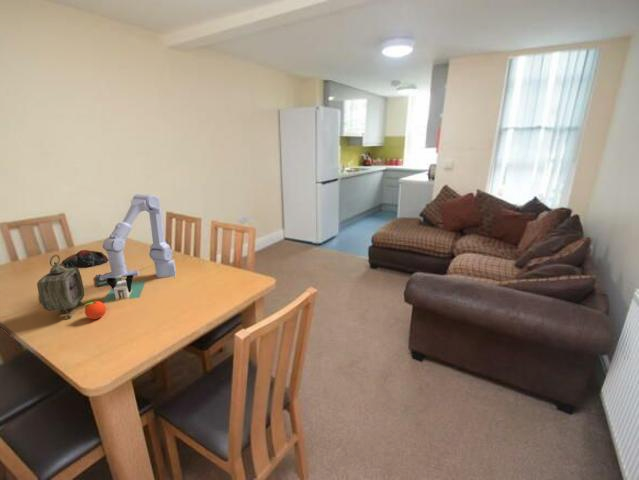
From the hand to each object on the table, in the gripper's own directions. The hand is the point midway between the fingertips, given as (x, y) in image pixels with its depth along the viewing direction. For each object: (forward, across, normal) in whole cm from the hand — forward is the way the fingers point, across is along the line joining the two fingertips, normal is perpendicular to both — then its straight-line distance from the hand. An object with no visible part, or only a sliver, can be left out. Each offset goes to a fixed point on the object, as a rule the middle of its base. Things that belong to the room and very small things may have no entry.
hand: (123, 292), depth 141 cm
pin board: (+2, 0, +4) cm, 5 cm away
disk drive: (+3, -11, +22) cm, 24 cm away
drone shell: (+3, -30, +56) cm, 64 cm away
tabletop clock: (+3, -19, -8) cm, 21 cm away
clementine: (+3, -7, -16) cm, 18 cm away
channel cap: (+1, 0, 0) cm, 1 cm away
